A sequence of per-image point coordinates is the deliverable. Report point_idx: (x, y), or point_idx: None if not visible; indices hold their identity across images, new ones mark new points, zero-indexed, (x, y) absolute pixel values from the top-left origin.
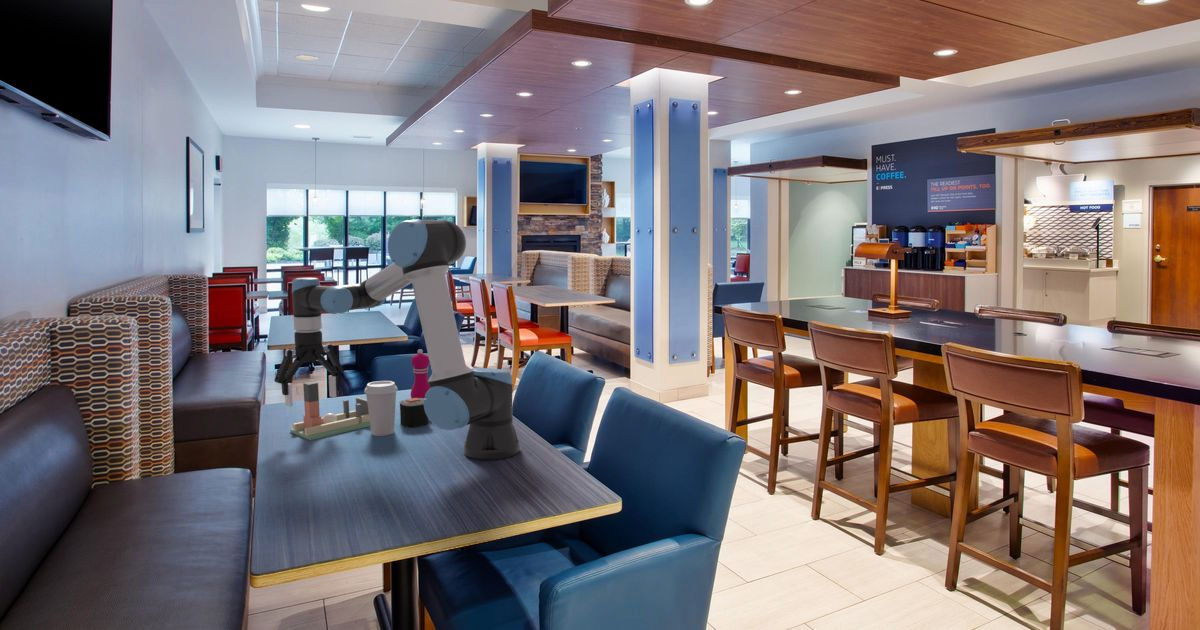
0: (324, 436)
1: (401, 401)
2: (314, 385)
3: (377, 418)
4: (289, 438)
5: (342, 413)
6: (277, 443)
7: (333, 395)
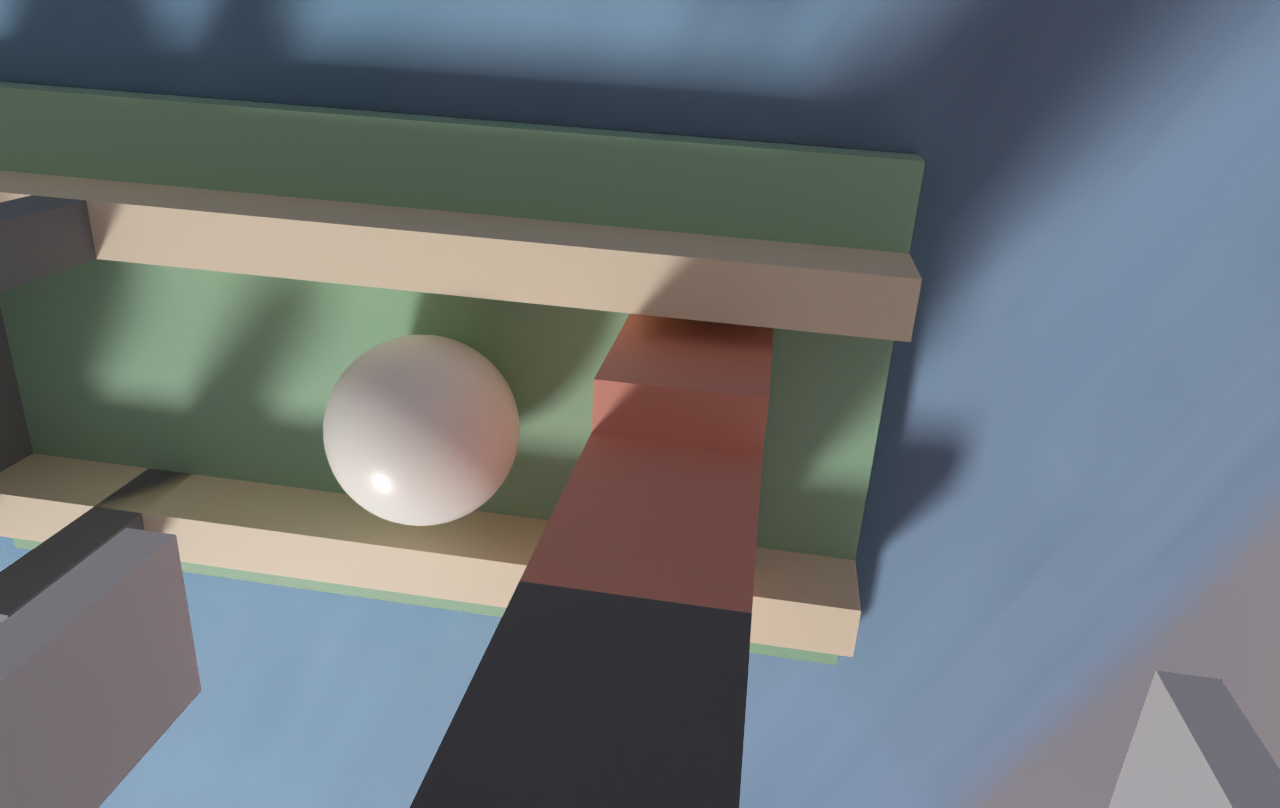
0: (703, 138)
1: None
2: None
3: None
4: (1006, 454)
5: None
6: (1246, 391)
7: (146, 581)
